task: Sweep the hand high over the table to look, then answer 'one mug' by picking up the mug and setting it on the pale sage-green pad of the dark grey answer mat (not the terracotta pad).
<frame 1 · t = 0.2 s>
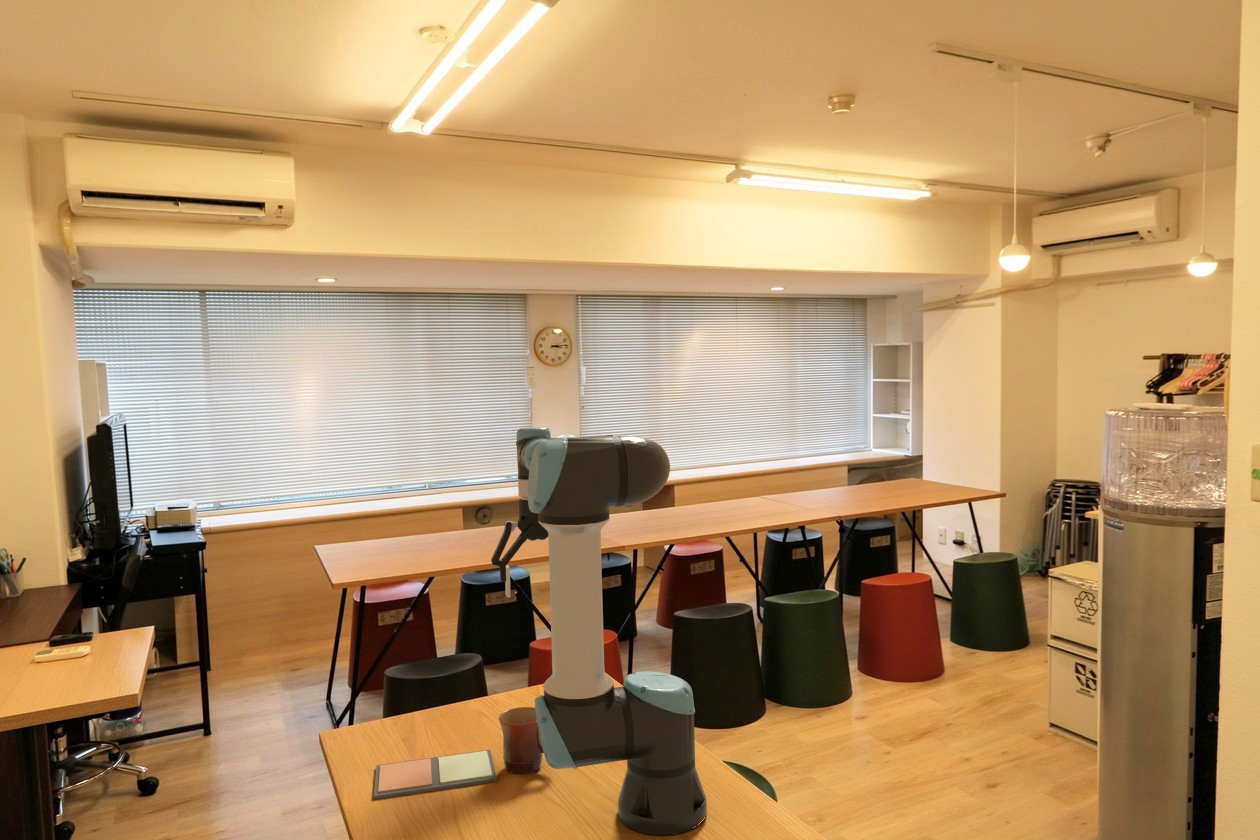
hand: (539, 593, 186), 28 cm above the table, fingers open, 13 cm apart
mug: (531, 769, 162), on the table
answer mat: (435, 774, 160), on the table
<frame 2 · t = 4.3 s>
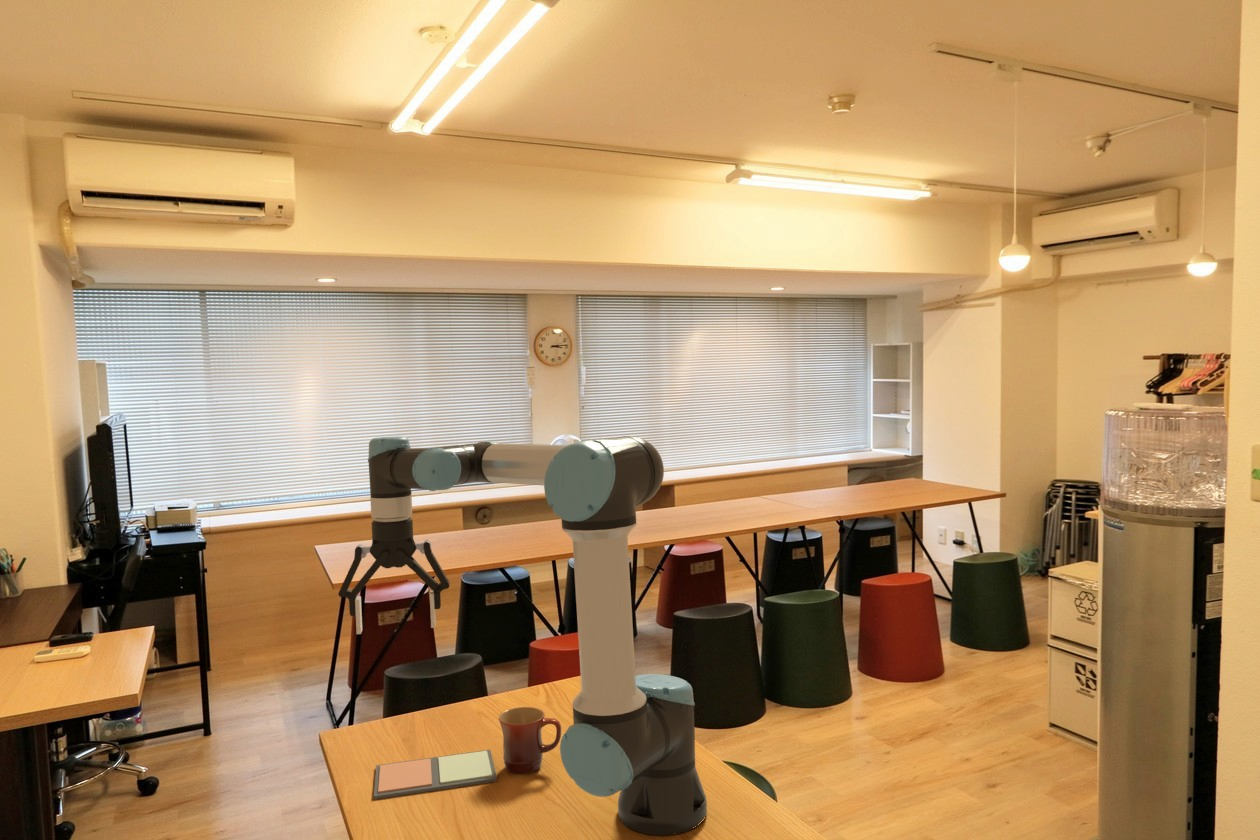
hand: (396, 629, 160), 28 cm above the table, fingers open, 13 cm apart
nothing on the table moved.
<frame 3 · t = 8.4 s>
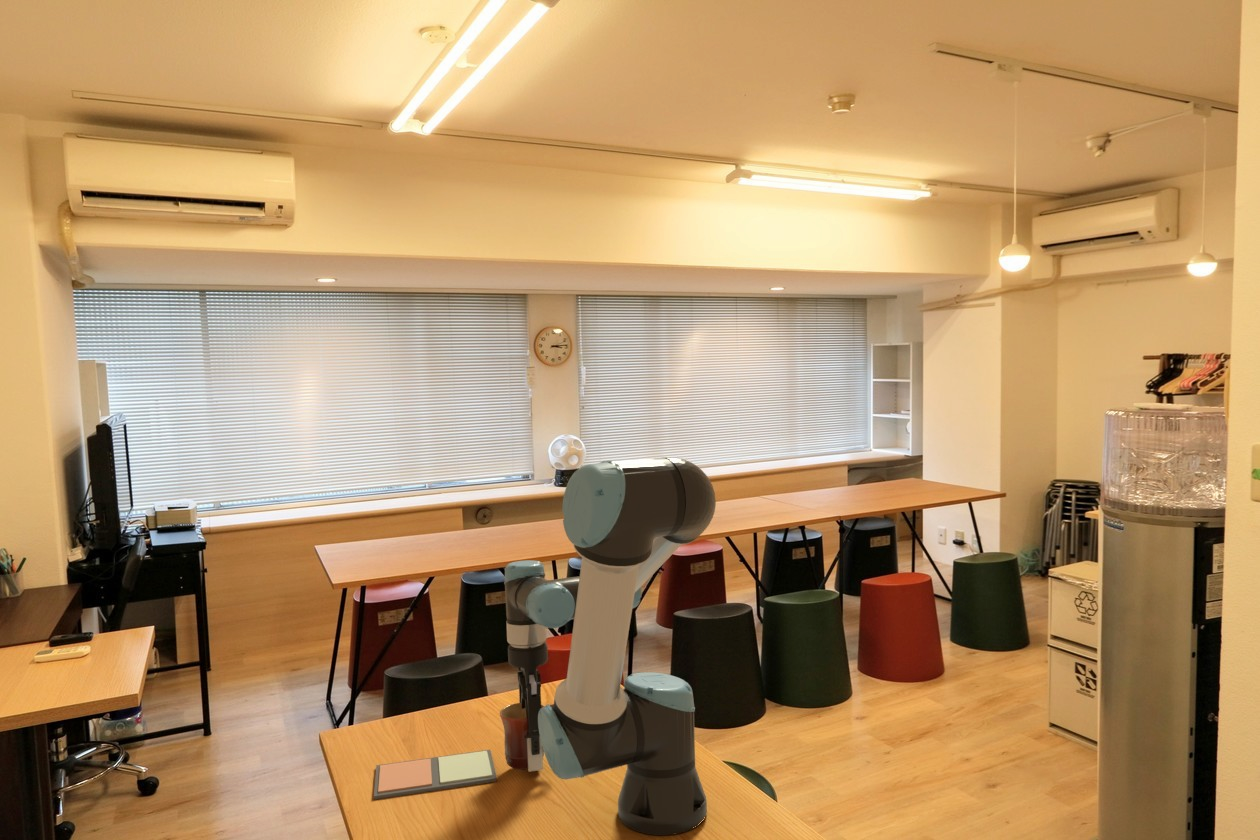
hand: (532, 761, 161), 2 cm above the table, fingers closed on mug, 7 cm apart
mug: (533, 764, 161), point 1 cm above the table, touching gripper
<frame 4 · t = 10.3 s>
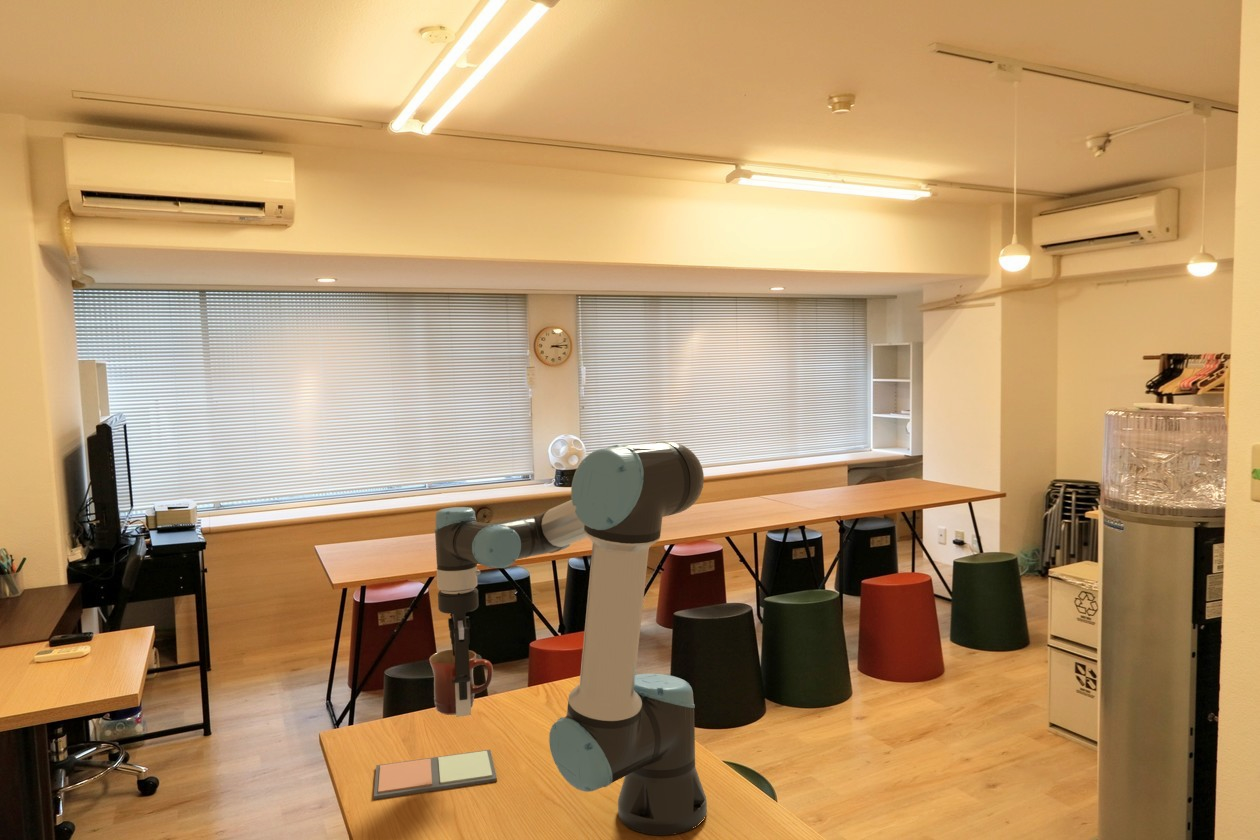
hand: (462, 707, 161), 12 cm above the table, fingers closed on mug, 7 cm apart
mug: (463, 710, 161), point 12 cm above the table, touching gripper
when the fingers open (2 cm above the table, at t = 12.4 s): mug stays where it is, resting on answer mat.
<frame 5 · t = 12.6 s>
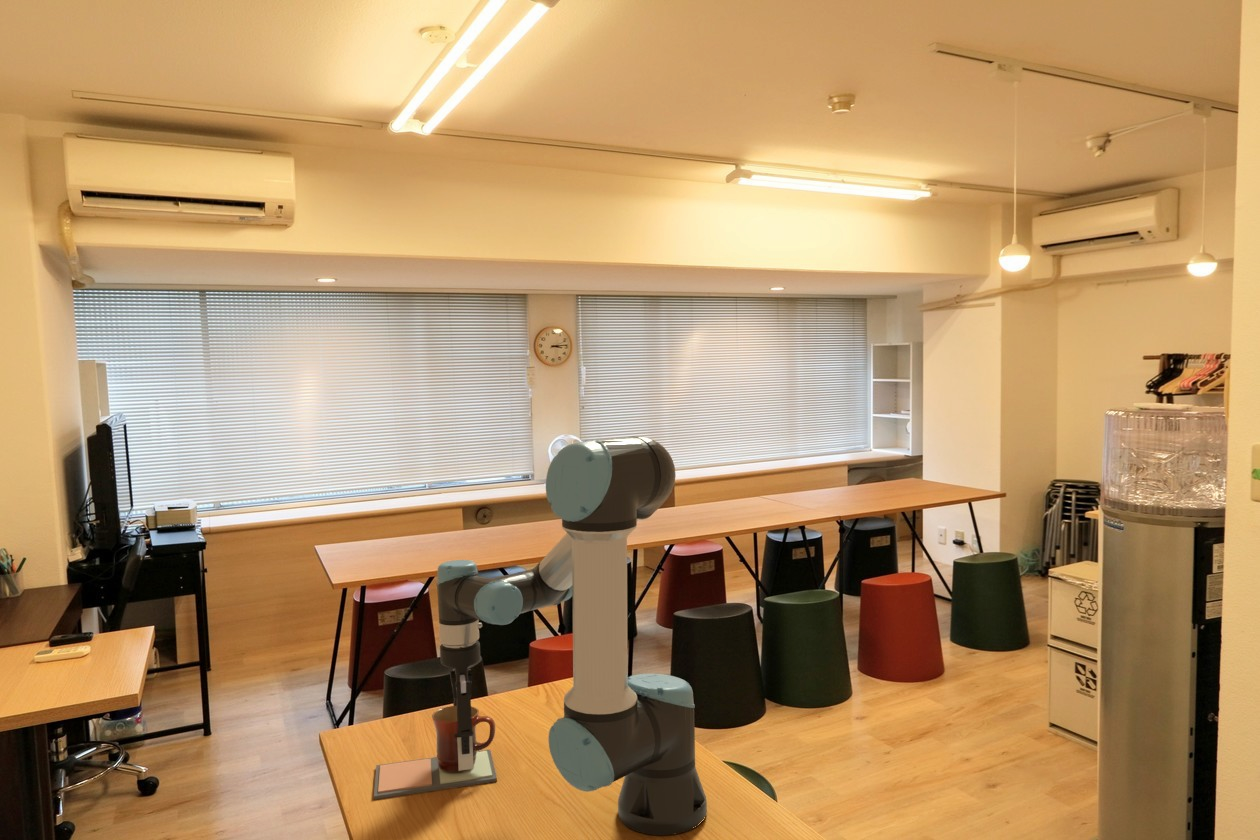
hand: (464, 757, 161), 2 cm above the table, fingers open, 9 cm apart
mug: (465, 767, 161), point 1 cm above the table, touching answer mat
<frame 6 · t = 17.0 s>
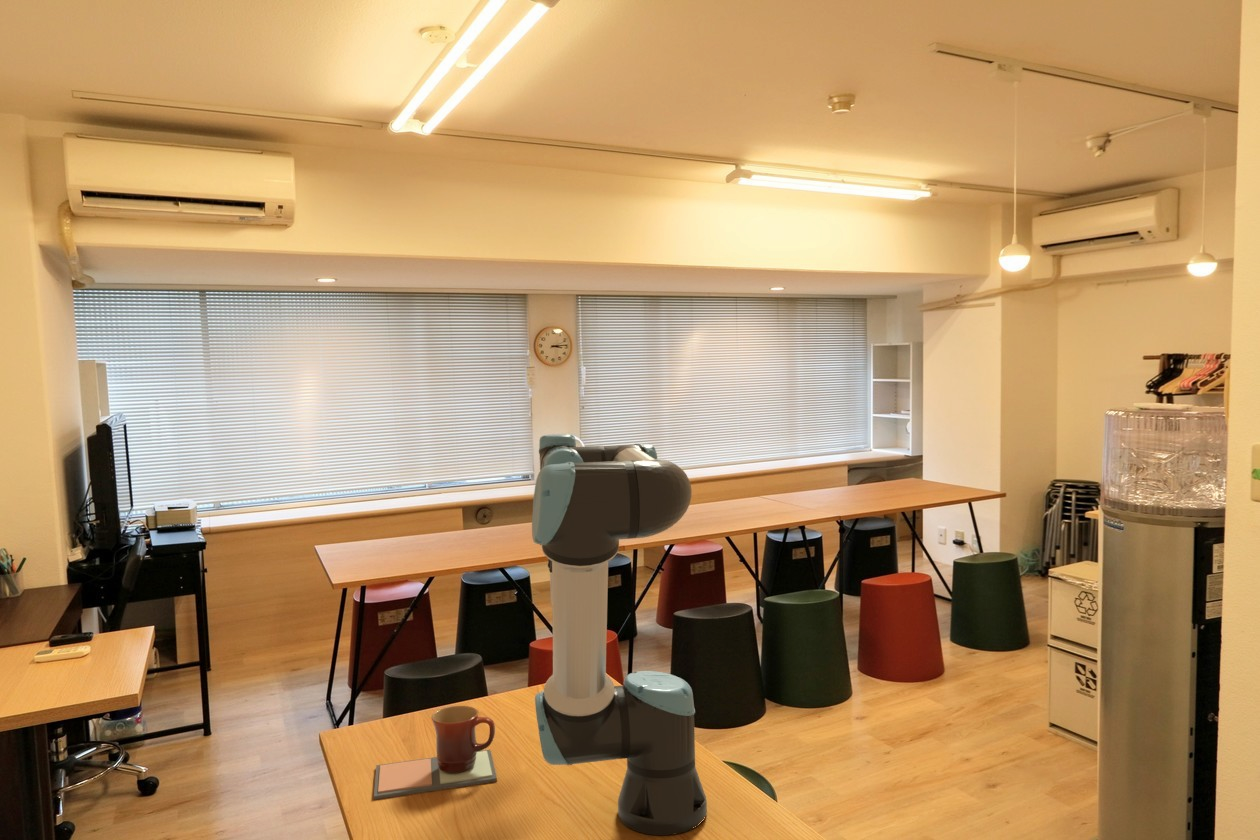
hand: (563, 611, 174), 27 cm above the table, fingers open, 13 cm apart
nothing on the table moved.
at the end: mug inside the target area on the answer mat (0.6 cm from its centre), point 0.7 cm above the answer mat's base; mug tilted 0°; the gripper is holding nothing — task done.
